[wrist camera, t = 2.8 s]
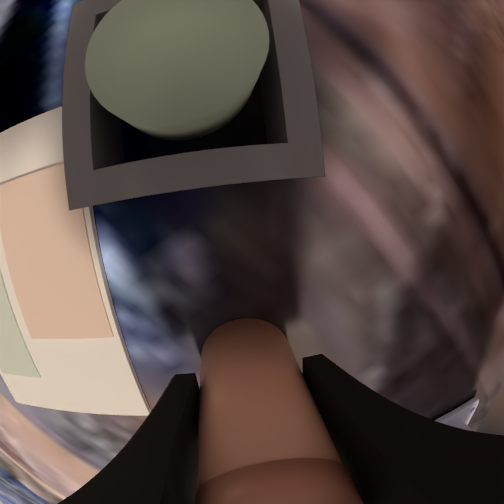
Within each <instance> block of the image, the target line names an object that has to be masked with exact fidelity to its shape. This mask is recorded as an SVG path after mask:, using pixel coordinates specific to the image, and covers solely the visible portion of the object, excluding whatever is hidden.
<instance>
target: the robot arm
mask: <svg viewBox="0 0 504 504" xmlns="http://www.w3.org/2000/svg"><path fill="white" fill-rule="evenodd" d="M303 377H304V379H305V381H306V383H307V386H308V388H309V390H310V392H311V395H312V397H313V399H314V401H315V404H316V406H317V408H318V410H319V413H320V415H321V417H322V419H323V422H324V424H325V426H326V428H327V431H328V433H329V435H330V437H331V439H332V442H333V444H334V446H335V448H336V451H337V453H338V455H339V457H340V460H341V462H342V464H343V465H344V466H345V467H346V468H347V470H348V472H349V474H350V476H351V478H352V480H353V482H354V485H355V487H356V489H357V491H358V493H359V496H360V498H361V500H362V502H363V504H504V436H502V435H494V434H486V433H480V432H474V431H472V430H471V429H470V428H469V427H468V426H467V424H468V423H469V421H470V419H471V417H472V415H473V413H474V411H475V409H476V407H477V405H478V403H479V399H478V398H477V397H474V398H473V399H471V400H469V401H468V402H466V403H465V404H463V405H461V406H460V407H458V408H456V409H454V410H453V411H451V412H449V413H447V414H445V415H444V416H442V417H440V418H438V419H436V420H431V419H429V418H426V417H424V416H421V415H419V414H417V413H414V412H412V411H410V410H407V409H405V408H403V407H401V406H399V405H397V404H396V403H394V402H392V401H390V400H388V399H386V398H385V397H383V396H381V395H379V394H378V393H376V392H375V391H373V390H371V389H370V388H368V387H367V386H365V385H364V384H362V383H361V382H359V381H358V380H356V379H355V378H354V377H352V376H351V375H349V374H348V373H347V372H345V371H344V370H343V369H341V368H340V367H339V366H337V365H336V364H335V363H333V362H332V361H331V360H329V359H328V358H327V357H325V356H324V355H323V354H319V355H314V356H309V357H304V358H303ZM199 393H200V390H199V386H198V382H197V379H196V375H195V373H190V374H176V375H175V376H174V377H173V378H172V379H171V381H170V383H169V384H168V386H167V388H166V389H165V391H164V392H163V394H162V396H161V397H160V399H159V400H158V402H157V403H156V405H155V406H154V408H153V409H152V411H151V412H150V414H149V415H148V417H147V418H146V419H145V421H144V422H143V424H142V425H141V426H140V428H139V429H138V430H137V431H136V433H135V434H134V435H133V436H132V438H131V439H130V440H129V441H128V443H127V444H126V445H125V446H124V447H123V449H122V450H121V451H120V452H119V453H118V454H117V455H116V456H115V457H114V458H113V459H112V460H111V462H110V463H109V464H108V465H107V466H106V467H105V468H103V469H102V470H101V471H100V472H99V473H98V474H97V475H96V476H94V477H93V478H92V479H91V480H90V481H89V482H87V483H86V484H85V485H84V486H82V487H81V488H80V489H79V490H77V491H76V492H75V493H73V494H72V495H70V496H69V497H67V498H66V499H64V500H63V501H61V502H59V503H58V504H195V495H196V492H197V490H198V484H197V478H198V419H199Z"/></svg>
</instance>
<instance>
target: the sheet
mask: <svg viewBox="0 0 504 504" xmlns="http://www.w3.org/2000/svg"><path fill="white" fill-rule="evenodd" d="M0 374H1V376H2V378H3V380H4V381H5V383H6V385H7V387H8V389H9V390H10V392H11V394H12V396H13V397H14V399H15V401H16V402H17V403H22V404H27V405H32V406H38V407H44V408H50V409H57V410H65V411H73V412H83V413H95V414H110V415H149V414H150V412H151V409H150V407H149V405H148V403H147V400H146V398H145V395H144V393H143V391H142V388H141V386H140V383H139V380H138V378H137V375H136V373H135V370H134V367H133V365H132V362H131V359H130V356H129V353H128V350H127V348H126V345H125V342H124V338H123V335H122V332H121V329H120V326H119V323H118V319H117V316H116V312H115V309H114V305H113V302H112V298H111V294H110V290H109V286H108V282H107V278H106V274H105V270H104V265H103V261H102V256H101V251H100V246H99V241H98V236H97V230H96V225H95V218H94V212H93V206H89V207H84V208H80V209H75V210H71V211H69V206H68V198H67V190H66V181H65V171H64V159H63V141H62V106H61V107H58V108H55V109H53V110H50V111H48V112H45V113H43V114H40V115H38V116H35V117H33V118H31V119H29V120H26V121H24V122H22V123H20V124H17V125H15V126H13V127H11V128H9V129H7V130H5V131H3V132H1V133H0Z"/></svg>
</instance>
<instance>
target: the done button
mask: <svg viewBox="0 0 504 504" xmlns="http://www.w3.org/2000/svg"><path fill="white" fill-rule="evenodd" d="M268 50H269V30H268V26H267V22H266V20H265V18H264V15H263V13H262V12H261V10H260V9H259V7H258V6H257V5H256V4H255V2H254V1H253V0H121V1H120V2H119V3H117V4H116V5H115V6H114V7H113V8H112V9H111V10H110V11H109V12H108V13H107V14H106V15H105V16H104V17H103V19H102V20H101V21H100V23H99V24H98V26H97V27H96V29H95V31H94V32H93V35H92V37H91V39H90V41H89V44H88V48H87V51H86V58H85V72H86V78H87V82H88V85H89V87H90V90H91V91H92V93H93V95H94V97H95V98H96V99H97V100H98V102H99V103H100V104H101V105H102V106H103V107H104V108H106V109H107V110H108V111H109V112H111V113H113V114H114V115H116V116H117V117H119V118H121V119H122V120H124V121H126V122H127V123H129V124H130V125H132V126H134V127H135V128H137V129H138V130H140V131H142V132H143V133H145V134H148V135H150V136H152V137H156V138H159V139H164V140H176V141H180V140H190V139H195V138H199V137H202V136H205V135H208V134H210V133H213V132H215V131H217V130H218V129H220V128H222V127H224V126H225V125H226V124H228V123H229V122H230V121H232V120H233V119H234V118H235V117H236V116H237V115H238V114H239V113H240V111H241V110H242V109H243V108H244V106H245V105H246V103H247V101H248V100H249V98H250V96H251V93H252V91H253V89H254V86H255V84H256V82H257V79H258V77H259V75H260V72H261V70H262V68H263V66H264V63H265V61H266V58H267V54H268Z"/></svg>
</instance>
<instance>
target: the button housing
mask: <svg viewBox="0 0 504 504" xmlns="http://www.w3.org/2000/svg"><path fill="white" fill-rule="evenodd" d="M120 1H121V0H83V1H80V2H78V3H75V4H73V8H72V13H71V18H70V24H69V30H68V36H67V44H66V52H65V61H64V73H63V91H62V141H63V159H64V171H65V181H66V190H67V198H68V206H69V211H71V210H75V209H80V208H84V207H89V206H94V205H99V204H104V203H109V202H114V201H120V200H125V199H131V198H137V197H142V196H148V195H155V194H161V193H167V192H174V191H181V190H188V189H195V188H203V187H211V186H219V185H228V184H237V183H246V182H256V181H267V180H279V179H292V178H306V177H323V176H325V168H324V157H323V147H322V137H321V128H320V120H319V112H318V104H317V97H316V90H315V83H314V77H313V70H312V64H311V58H310V53H309V47H308V42H307V36H306V31H305V26H304V22H303V17H302V12H301V8H300V3H299V0H253V1H254V2H255V4H256V5H257V6H258V7H259V9H260V10H261V12H262V13H263V15H264V18H265V20H266V22H267V26H268V30H269V50H268V54H267V58H266V61H265V63H264V66H263V68H262V70H261V72H260V83H261V91H262V100H263V109H264V118H265V127H266V137H267V144H262V145H249V146H238V147H228V148H219V149H210V150H202V151H194V152H187V153H180V154H174V155H167V156H161V157H156V158H150V159H144V160H139V161H134V162H129V163H125V162H124V150H123V137H122V120H121V118H119V117H117V116H116V115H114V114H113V113H111V112H109V111H108V110H107V109H106V108H104V107H103V106H102V105H101V104H100V103H99V102H98V100H97V99H96V98H95V97H94V95H93V93H92V91H91V90H90V87H89V85H88V82H87V78H86V72H85V58H86V51H87V48H88V44H89V41H90V39H91V37H92V35H93V32H94V31H95V29H96V27H97V26H98V24H99V23H100V21H101V20H102V19H103V17H104V16H105V15H106V14H107V13H108V12H109V11H110V10H111V9H112V8H113V7H114V6H115V5H116V4H117V3H119V2H120Z"/></svg>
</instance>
